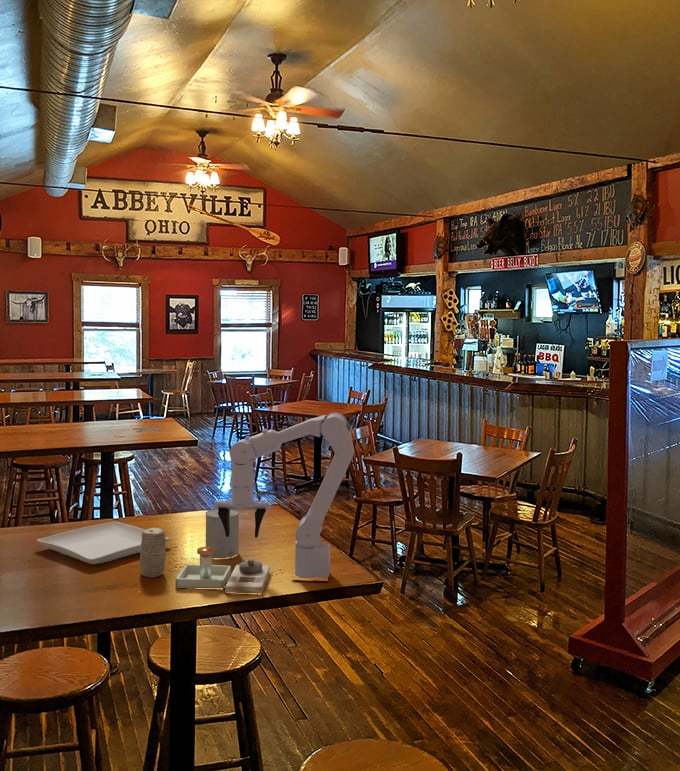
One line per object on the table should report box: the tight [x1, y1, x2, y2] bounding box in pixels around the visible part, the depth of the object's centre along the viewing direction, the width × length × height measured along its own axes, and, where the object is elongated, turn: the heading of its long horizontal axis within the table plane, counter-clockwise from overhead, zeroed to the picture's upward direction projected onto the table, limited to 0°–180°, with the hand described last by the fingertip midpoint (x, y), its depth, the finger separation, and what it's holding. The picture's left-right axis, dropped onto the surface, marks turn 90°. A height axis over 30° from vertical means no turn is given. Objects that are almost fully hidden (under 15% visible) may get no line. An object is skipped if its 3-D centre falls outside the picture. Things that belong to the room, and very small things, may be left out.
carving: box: [139, 527, 166, 579], centre depth 193 cm, size 6×8×12 cm
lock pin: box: [196, 546, 215, 579], centre depth 189 cm, size 4×4×8 cm
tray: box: [175, 563, 232, 590], centre depth 189 cm, size 12×11×2 cm
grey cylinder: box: [205, 508, 240, 558], centre depth 211 cm, size 10×10×12 cm
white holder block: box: [224, 558, 271, 594], centre depth 189 cm, size 9×16×5 cm, turn 178°
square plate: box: [36, 520, 171, 565], centre depth 214 cm, size 27×27×4 cm
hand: (242, 536), depth 195 cm, fingers open, 7 cm apart
